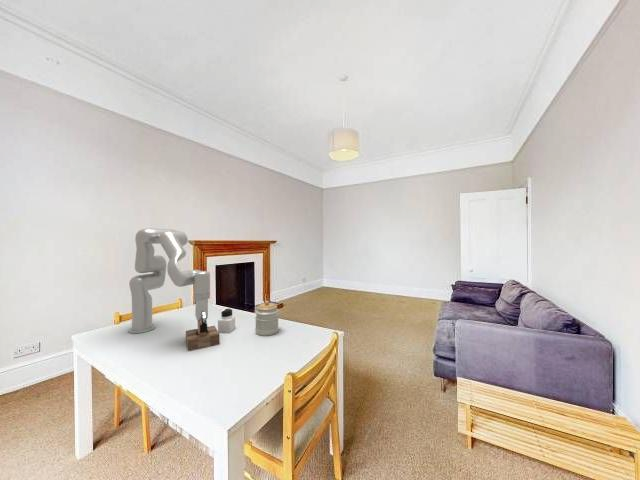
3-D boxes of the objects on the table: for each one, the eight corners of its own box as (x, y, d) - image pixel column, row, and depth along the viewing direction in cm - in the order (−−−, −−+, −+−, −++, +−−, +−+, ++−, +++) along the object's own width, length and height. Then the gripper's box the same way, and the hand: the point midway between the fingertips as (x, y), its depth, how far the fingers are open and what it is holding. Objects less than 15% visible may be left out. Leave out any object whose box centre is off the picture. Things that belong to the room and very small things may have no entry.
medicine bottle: (235, 328, 145) (235, 308, 145) (229, 333, 138) (229, 311, 138) (223, 327, 146) (223, 307, 146) (217, 332, 139) (217, 311, 139)
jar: (276, 336, 134) (276, 303, 133) (252, 336, 134) (252, 303, 134) (280, 327, 147) (280, 297, 146) (258, 327, 147) (258, 297, 147)
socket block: (185, 340, 128) (185, 330, 128) (214, 334, 136) (214, 325, 136) (188, 351, 116) (187, 340, 116) (219, 344, 124) (219, 334, 124)
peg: (197, 341, 127) (197, 318, 126) (205, 339, 129) (205, 317, 129) (198, 344, 123) (198, 320, 123) (207, 342, 125) (206, 319, 125)
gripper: (192, 293, 131) (192, 325, 131) (195, 300, 116) (195, 336, 117) (207, 291, 135) (207, 322, 135) (212, 298, 120) (213, 333, 121)
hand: (202, 329), depth 126 cm, fingers open, 9 cm apart
